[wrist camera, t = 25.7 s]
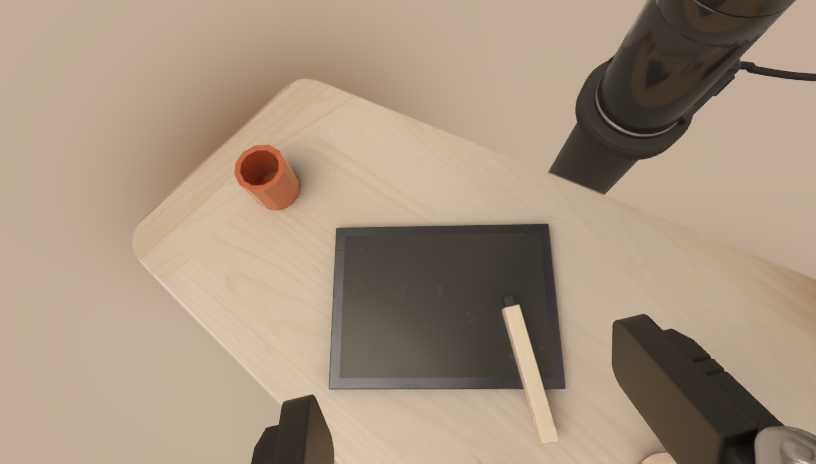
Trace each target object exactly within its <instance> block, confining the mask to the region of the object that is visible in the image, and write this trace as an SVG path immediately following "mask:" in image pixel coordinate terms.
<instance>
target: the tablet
mask: <svg viewBox="0 0 816 464" xmlns="http://www.w3.org/2000/svg"><path fill="white" fill-rule="evenodd" d="M507 296H513V298H514V302H515V305H520V309H521V312H522V316H523V319H524V322H525V326H526V329H527V333H528V336H529V339H530V343H531V346H532V350H533V353H534V357H535V360H536V363H537V367H538V370H539V374H540V377H541V380H542V384H543V387H544V389H565V381H564V371H563V361H562V352H561V342H560V332H559V323H558V313H557V303H556V294H555V284H554V274H553V265H552V255H551V245H550V236H549V226H548V224H519V225H468V226H417V227H366V228H336V246H335V267H334V289H333V310H332V331H331V353H330V374H329V389H524V388H523V385H522V381H521V377H520V374H519V370H518V367H517V363H516V359H515V356H514V352H513V349H512V345H511V342H510V338H509V334H508V331H507V327H506V324H505V320H504V317H503V313H502V309H504V308H505V307H504V303H503V300H502V299H503V298H504V297H507Z"/></svg>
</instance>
